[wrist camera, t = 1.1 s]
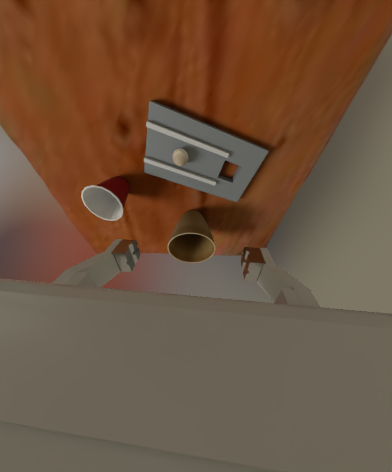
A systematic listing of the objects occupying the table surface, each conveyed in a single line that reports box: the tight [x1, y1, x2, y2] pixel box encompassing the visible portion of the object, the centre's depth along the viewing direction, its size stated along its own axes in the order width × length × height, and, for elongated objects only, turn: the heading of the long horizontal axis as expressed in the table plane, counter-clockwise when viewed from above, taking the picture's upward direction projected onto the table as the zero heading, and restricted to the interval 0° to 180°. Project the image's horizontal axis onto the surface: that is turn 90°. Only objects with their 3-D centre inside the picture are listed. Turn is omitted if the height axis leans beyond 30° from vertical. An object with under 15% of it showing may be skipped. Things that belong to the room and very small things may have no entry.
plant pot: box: [168, 210, 215, 263], centre depth 51 cm, size 15×15×16 cm
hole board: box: [144, 100, 269, 202], centre depth 40 cm, size 16×30×4 cm, turn 72°
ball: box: [172, 148, 188, 166], centre depth 37 cm, size 4×4×4 cm
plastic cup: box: [82, 177, 129, 221], centre depth 44 cm, size 11×11×12 cm
